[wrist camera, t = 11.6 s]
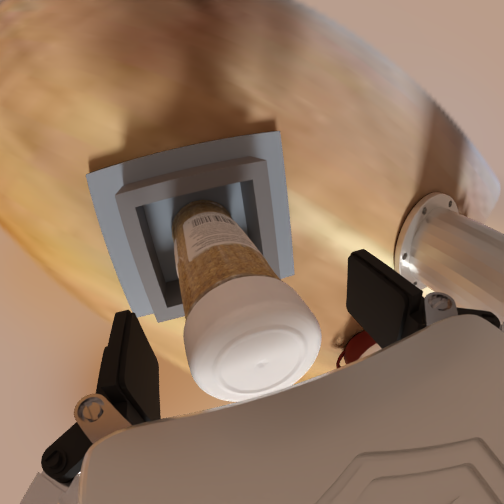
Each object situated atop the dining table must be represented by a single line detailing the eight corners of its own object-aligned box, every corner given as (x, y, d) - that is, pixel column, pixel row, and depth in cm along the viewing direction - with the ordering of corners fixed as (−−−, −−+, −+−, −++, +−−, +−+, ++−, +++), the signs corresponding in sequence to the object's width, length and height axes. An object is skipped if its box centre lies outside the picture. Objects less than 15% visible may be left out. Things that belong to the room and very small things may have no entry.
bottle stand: (274, 131, 20) (301, 131, 16) (289, 269, 25) (313, 295, 21) (89, 172, 17) (69, 183, 13) (135, 311, 22) (133, 345, 18)
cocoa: (322, 359, 33) (366, 434, 22) (345, 320, 31) (403, 395, 20) (373, 358, 36) (417, 416, 25) (395, 323, 34) (448, 381, 23)
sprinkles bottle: (164, 248, 20) (175, 403, 8) (183, 189, 19) (216, 292, 7) (221, 263, 22) (289, 406, 10) (242, 208, 20) (349, 316, 9)
